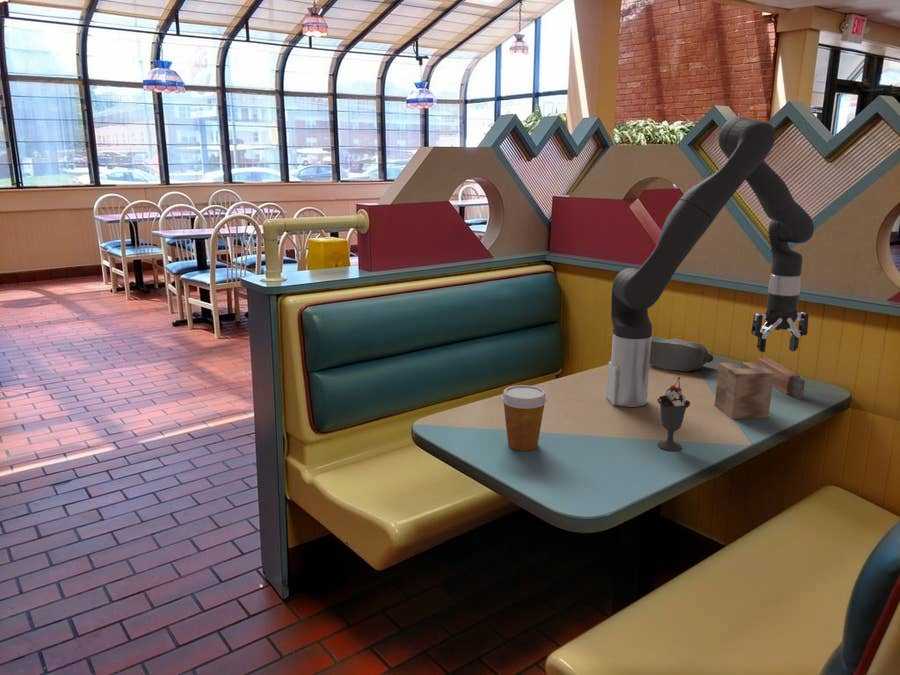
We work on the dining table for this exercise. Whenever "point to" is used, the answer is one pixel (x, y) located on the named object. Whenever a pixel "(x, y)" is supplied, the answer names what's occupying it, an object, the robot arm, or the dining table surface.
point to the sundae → (672, 415)
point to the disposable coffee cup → (523, 415)
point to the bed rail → (784, 378)
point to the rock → (678, 354)
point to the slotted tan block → (744, 390)
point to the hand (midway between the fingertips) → (777, 351)
